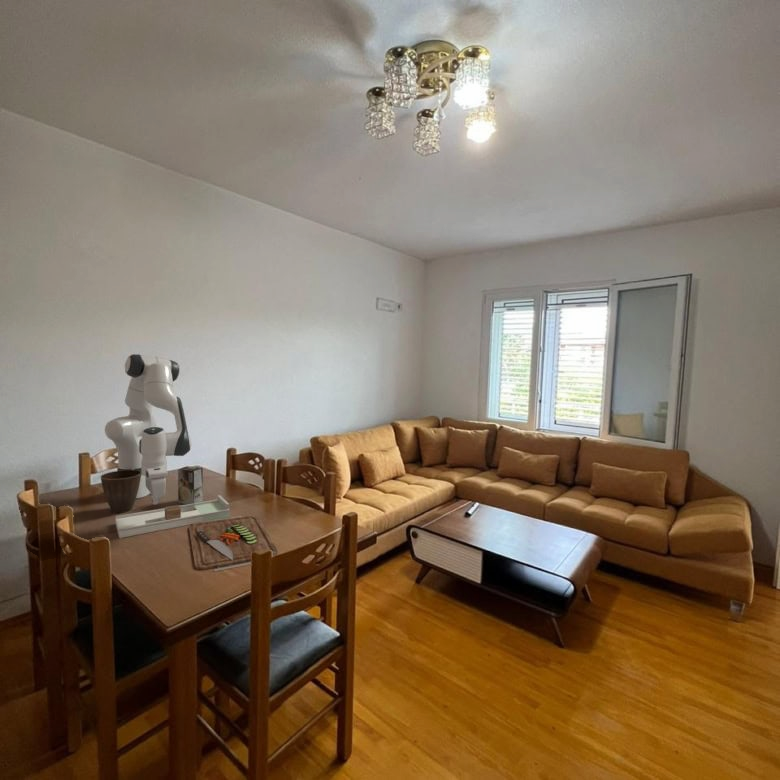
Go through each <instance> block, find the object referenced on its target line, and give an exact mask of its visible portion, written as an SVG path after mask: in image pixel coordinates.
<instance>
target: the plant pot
mask: <svg viewBox="0 0 780 780" xmlns="http://www.w3.org/2000/svg"><path fill="white" fill-rule="evenodd" d="M140 479H141V472H140V471H137V470H121V471H117V470H114V471H111V472H107V473H104V474H102V475H101V476H100V480H101V486H102V491H103V492H104V496H105V499H106V501H107V503H108V506H109V509H110V510H111V513H113V514H114V513H115V514H121V513H126V512H130V511H131V510H133V507H134V505H135V503H136V499H137V498H136V496H137V493H138V489H139V485H140Z"/></svg>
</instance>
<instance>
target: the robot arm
mask: <svg viewBox="0 0 780 780" xmlns="http://www.w3.org/2000/svg"><path fill="white" fill-rule="evenodd" d="M124 372H125V374H126V375H127V376H129V377H130V380H129V383H128V388H127V391H126V395H125V399H124V402H125V405H126V406H127V407H129V414H128V415H125V416H120V417H116V418H114V419H112V420H110V421H107V422H106V425H105V427H104V433H105V435H106V437H107V438H108V439H109V440H111V441H112V442H113V444H114V445H115V447H116V451H117V460H118V461H117V462H118V463H117V464H118V467H117V470H116V471H121V470H137V471H140V472H141V479H140V485H139V489H138V493H137V496H136V499H140V498H144V497H147V496H149V495H150V496H151V503H152V504H153V505H158V504H159V499H161V498H164V497H165V495H166V483H167V482H166V481H167V478H166V477H168V462H167V461H168V459H167V457H172V456H177V457H183V456H185V455H187V454H188V453H189V452H190V451H191V449H192V441H191V440H192V439H191V436H190V434H189V432H188V426H187V425H188V424H187V421H186V416H185V410H184V407H183V403H182V400H181V398H180V397H179V396H176V394H175V392H174V389H173V388H174V382H175V381H177V379H178V377H179V374H180V364H179V363H178V362H177V361H175V360H171V359H166V358H162V357H158V356H151V355H141V354H137V353H136V354H130V355H129V356H128V357H127V359H126V360H125V363H124ZM152 407H155V408H157V409H161V410H164V411H167V412H169V413H171V414H172V415H173V416H174V420H175V426H176V431H174V432H165V429H164V428H163V427H159V426H157V420H156V418H155V417H154V416H153V413H152ZM140 437H141V438H140ZM138 438H140V439H139V441H138Z"/></svg>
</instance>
